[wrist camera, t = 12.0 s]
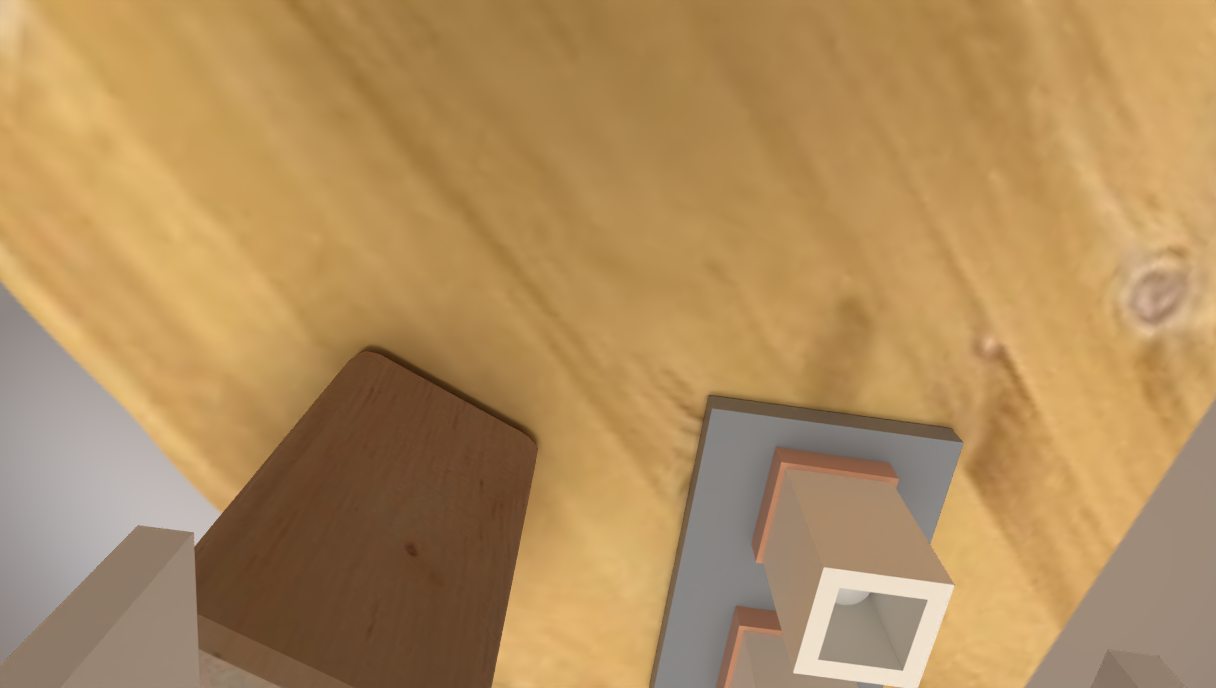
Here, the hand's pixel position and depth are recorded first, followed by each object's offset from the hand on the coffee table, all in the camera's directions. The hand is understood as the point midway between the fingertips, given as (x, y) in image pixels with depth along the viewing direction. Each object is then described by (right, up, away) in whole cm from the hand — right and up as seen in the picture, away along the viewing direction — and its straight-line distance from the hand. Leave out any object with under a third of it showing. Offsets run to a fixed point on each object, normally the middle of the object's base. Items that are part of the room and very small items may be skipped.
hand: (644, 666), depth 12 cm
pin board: (+9, -7, +31) cm, 33 cm away
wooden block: (-10, -1, +29) cm, 31 cm away
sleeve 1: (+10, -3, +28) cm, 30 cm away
